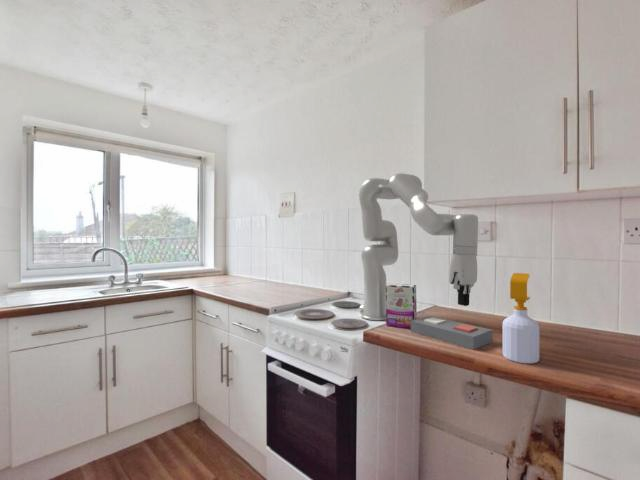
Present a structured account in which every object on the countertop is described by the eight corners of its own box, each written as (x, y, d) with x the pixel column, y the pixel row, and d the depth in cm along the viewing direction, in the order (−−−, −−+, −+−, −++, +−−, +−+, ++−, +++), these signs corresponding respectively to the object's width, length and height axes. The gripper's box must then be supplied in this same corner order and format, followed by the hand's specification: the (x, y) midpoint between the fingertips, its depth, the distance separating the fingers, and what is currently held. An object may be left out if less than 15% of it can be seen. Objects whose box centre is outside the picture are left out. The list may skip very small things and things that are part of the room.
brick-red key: (453, 333, 112) (453, 326, 112) (462, 330, 115) (462, 324, 115) (468, 337, 107) (468, 330, 107) (477, 334, 111) (477, 327, 111)
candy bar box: (417, 326, 129) (416, 284, 129) (414, 329, 125) (414, 286, 124) (389, 322, 134) (388, 282, 134) (385, 326, 130) (385, 284, 130)
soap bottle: (541, 357, 96) (541, 273, 95) (535, 367, 89) (536, 276, 89) (506, 350, 102) (506, 271, 101) (499, 358, 95) (499, 274, 95)
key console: (410, 331, 122) (410, 320, 122) (430, 325, 129) (430, 315, 129) (473, 349, 103) (473, 336, 103) (492, 341, 110) (492, 329, 110)
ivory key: (423, 325, 121) (423, 319, 121) (432, 323, 125) (432, 317, 125) (436, 329, 117) (436, 322, 117) (445, 326, 120) (445, 320, 120)
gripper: (466, 249, 118) (464, 300, 119) (441, 251, 109) (440, 305, 110) (487, 250, 112) (485, 304, 113) (463, 252, 103) (461, 310, 104)
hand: (463, 304), depth 112 cm, fingers closed
